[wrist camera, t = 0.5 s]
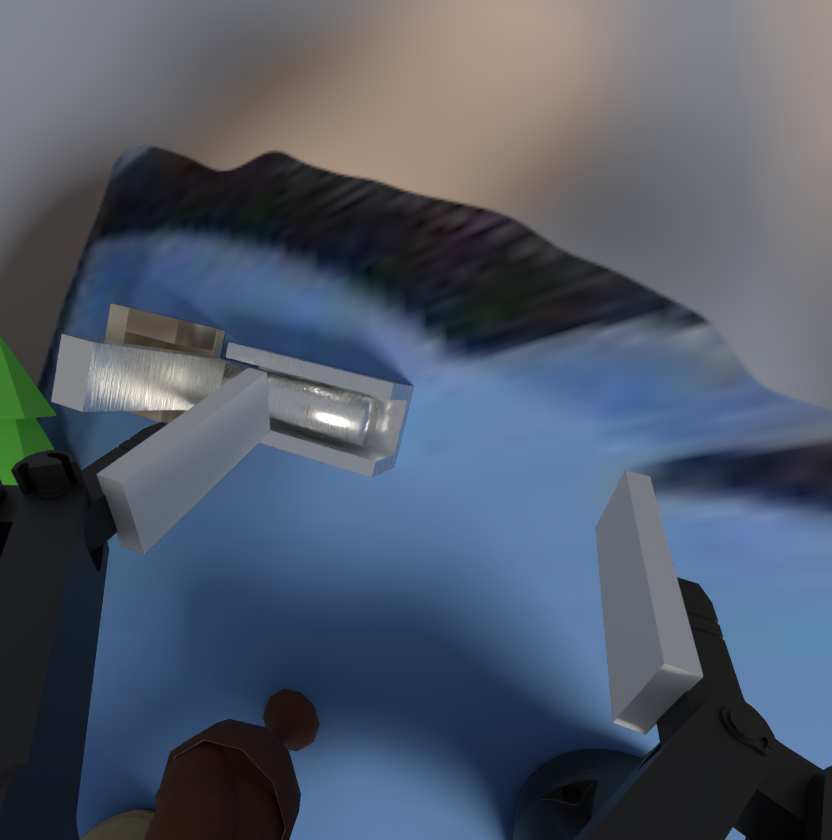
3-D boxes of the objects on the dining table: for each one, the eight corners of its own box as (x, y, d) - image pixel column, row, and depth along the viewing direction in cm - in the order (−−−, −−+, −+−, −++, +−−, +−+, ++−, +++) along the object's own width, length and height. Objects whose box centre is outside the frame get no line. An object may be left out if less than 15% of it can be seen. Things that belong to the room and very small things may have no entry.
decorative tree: (-107, 658, 40) (-123, 319, 37) (44, 603, 50) (39, 336, 48) (-48, 701, 35) (-62, 316, 32) (105, 631, 45) (103, 335, 43)
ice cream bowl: (221, 692, 43) (61, 842, 28) (305, 641, 40) (177, 776, 26) (278, 793, 41) (141, 1004, 27) (369, 747, 39) (271, 952, 24)
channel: (394, 466, 37) (371, 477, 32) (253, 425, 41) (211, 428, 35) (413, 386, 37) (393, 383, 31) (268, 350, 40) (228, 342, 35)
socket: (208, 420, 42) (160, 422, 36) (147, 401, 44) (94, 401, 38) (225, 330, 41) (179, 319, 36) (163, 315, 43) (110, 303, 37)
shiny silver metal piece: (371, 445, 36) (268, 472, 22) (210, 398, 40) (34, 396, 26) (382, 397, 36) (284, 394, 22) (219, 355, 40) (44, 329, 25)
